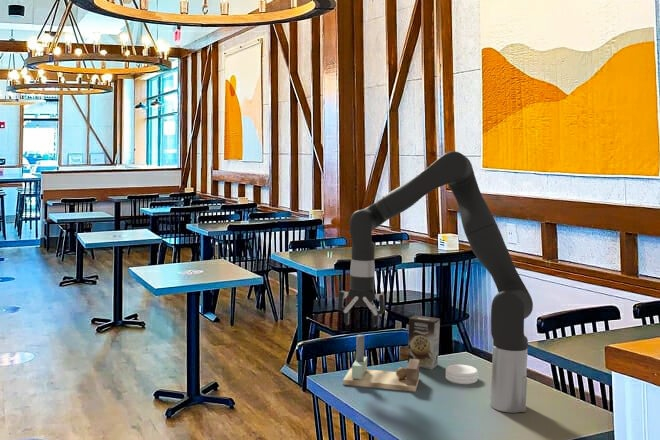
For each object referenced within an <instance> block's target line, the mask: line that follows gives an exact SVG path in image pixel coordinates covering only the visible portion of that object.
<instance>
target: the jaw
mask: <svg viewBox="0 0 660 440" xmlns="http://www.w3.org/2000/svg"><path fill="white" fill-rule="evenodd" d="M355 343H356V349H355V350H356V351H355V353H356V355H355V361H354V362H353V363H352V365H351V368H352V378H355V379H362V377H363V375H364V374H365V372H366V370H367V369H368V356H365V334H357V335H356V342H355Z"/></svg>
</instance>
